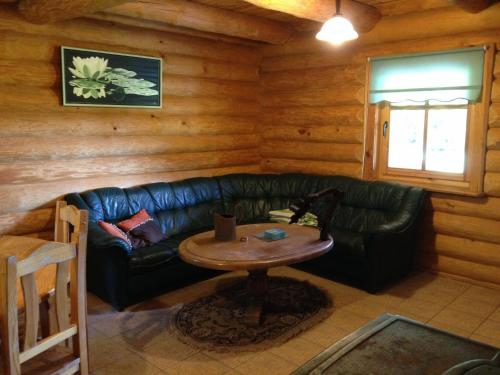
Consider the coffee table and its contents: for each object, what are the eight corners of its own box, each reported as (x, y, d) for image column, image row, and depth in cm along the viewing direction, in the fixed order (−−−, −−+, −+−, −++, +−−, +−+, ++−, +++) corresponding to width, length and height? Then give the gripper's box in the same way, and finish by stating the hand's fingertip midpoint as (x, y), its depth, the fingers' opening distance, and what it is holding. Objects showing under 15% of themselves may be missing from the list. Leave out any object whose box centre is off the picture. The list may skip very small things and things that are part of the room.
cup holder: (209, 237, 331) (208, 204, 327) (237, 232, 342) (237, 201, 338) (219, 243, 315) (218, 209, 311) (248, 238, 326) (248, 206, 322)
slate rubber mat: (274, 230, 348) (274, 230, 347) (290, 236, 331) (290, 235, 331) (251, 235, 335) (251, 234, 335) (267, 241, 319) (267, 241, 319)
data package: (274, 234, 319) (263, 231, 328) (274, 240, 320) (263, 236, 329) (286, 231, 327) (275, 228, 336) (286, 237, 328) (275, 234, 337)
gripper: (298, 199, 322) (284, 213, 327) (293, 204, 304) (277, 219, 310) (309, 210, 321) (294, 224, 326) (304, 216, 303) (288, 230, 309)
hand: (288, 224), depth 318 cm, fingers closed
